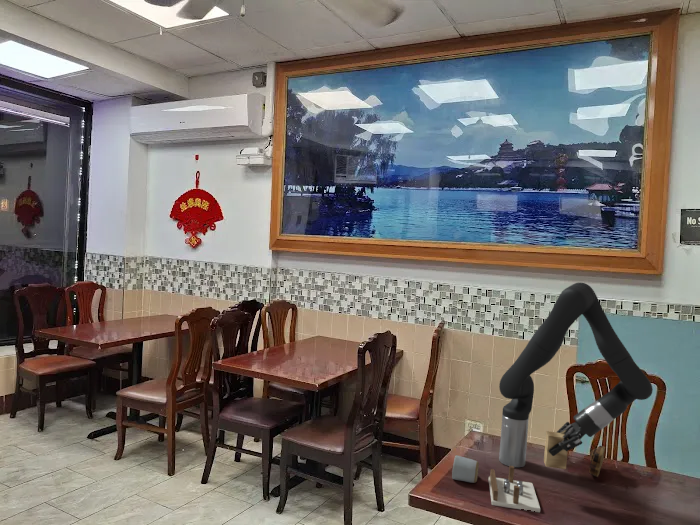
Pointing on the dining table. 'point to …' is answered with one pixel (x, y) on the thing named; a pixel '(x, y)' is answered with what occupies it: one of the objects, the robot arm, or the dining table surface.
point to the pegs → (507, 487)
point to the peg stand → (506, 500)
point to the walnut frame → (511, 476)
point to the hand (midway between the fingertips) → (549, 450)
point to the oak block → (560, 457)
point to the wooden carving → (596, 460)
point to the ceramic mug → (465, 469)
